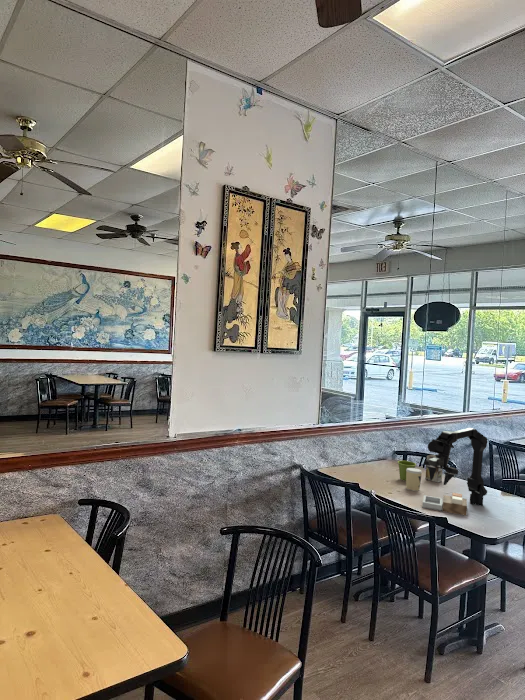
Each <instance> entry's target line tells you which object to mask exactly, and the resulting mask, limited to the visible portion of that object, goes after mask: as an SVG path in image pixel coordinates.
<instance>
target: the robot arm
mask: <svg viewBox="0 0 525 700" xmlns="http://www.w3.org/2000/svg"><path fill="white" fill-rule="evenodd" d="M465 438H468V439H469V440H470V446H471V447H472V450H473V452H472V453H473V455H472V467H471V475H470V476H469V477H467V478H466V479H467V482H466V485H467V489H468V492H471V493H469V502H470V505H473V506H474V505H475V506H476V505H477V506H481V507H484V497H485V496H487V493H488V490H487V489H486V486H485V483H484V482H485V481H484V479H483V477H482V469H483V459H484V457H483V456H484V455H483V454H484V451H485V449H486V448H487V446H488V445H487V444H488V438H487V437H486V436H484V435H483V434H482V433H481V432H480V431H478V430H477V429H475V428H473V427H467V428H463V429H459V430H455V431H450V430H442V431H441V433H440V434H439V435H438V436H437V437H436V439H433V438H432V439H431V441H430V442H428V444H427V450H428V451H429V452H431V453H436V454H435V456H436V457H435V458H431V459H429V460H427V459H426V460H424V465H425V467H427V468H428V469H429V473H430V480H429V481H431V480H432V479H433V477H434V474H435V472H436V469H437V468H435V467H438V468H440V469H443V470H442V471H444V479H443V486H446V485H447V484H448V483H449V481H450V480H451V479H453V477H454V476H457V475H459V469H458V468H455V467H452V466H449V461H451V458H450V454H451V450H452V449H454V448H455V446H454V445H453V444H454V443H456V442H458V440H460V439H465ZM426 465H427V466H426Z"/></svg>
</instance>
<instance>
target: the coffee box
mask: <svg viewBox="0 0 525 700" xmlns="http://www.w3.org/2000/svg"><path fill="white" fill-rule="evenodd" d="M435 457H436V454H429V455H426V460H429V459H431V458H435ZM426 466H427V465H425V467H426ZM435 468H437V469H436V472H435V474H434V477H433V479H432V480H430V473H429V469H428V468H427V467H426V468H425V478H424V479H425V480H427V479H428V481H432V482H435V483H441V482H442V481H443V471H444V470H443V469H440V468H438V467H435Z"/></svg>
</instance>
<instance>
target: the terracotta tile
mask: <svg viewBox="0 0 525 700" xmlns="http://www.w3.org/2000/svg"><path fill="white" fill-rule="evenodd" d="M451 496H455V497H461V498H463V494H462V493H459V492H458V493H457V492H452V494H451Z"/></svg>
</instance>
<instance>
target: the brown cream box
mask: <svg viewBox="0 0 525 700" xmlns="http://www.w3.org/2000/svg"><path fill="white" fill-rule="evenodd" d="M442 498H443V499H442V511H441V512H444V513H449V514H456V515H460V516H461V515H462V516H467V510H468V501H467V500H468V499H467V498H463V497H462V505H460V504H454V503H452V495H451V496H450V495H445V494H443V496H442Z"/></svg>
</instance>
